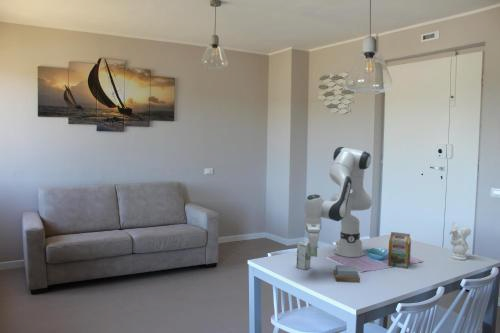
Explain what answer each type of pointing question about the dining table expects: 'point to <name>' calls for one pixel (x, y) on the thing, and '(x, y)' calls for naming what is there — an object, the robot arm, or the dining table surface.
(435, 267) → the dining table surface
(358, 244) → the robot arm
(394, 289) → the dining table surface
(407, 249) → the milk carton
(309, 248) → the sage block
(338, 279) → the walnut base slab
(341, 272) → the grey top slab
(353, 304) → the dining table surface
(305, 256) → the syrup box
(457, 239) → the white squirrel figurine
